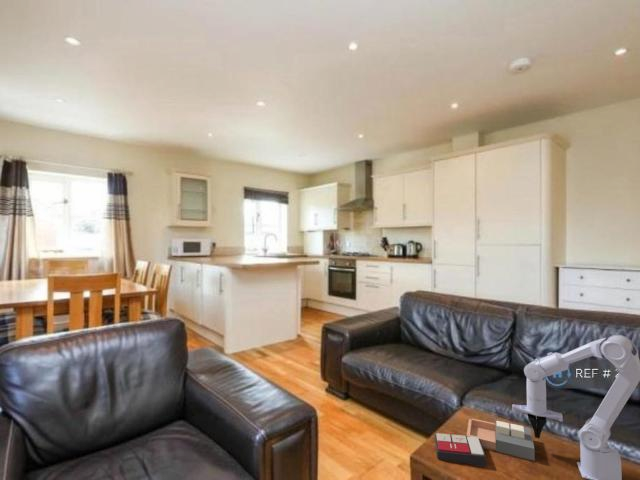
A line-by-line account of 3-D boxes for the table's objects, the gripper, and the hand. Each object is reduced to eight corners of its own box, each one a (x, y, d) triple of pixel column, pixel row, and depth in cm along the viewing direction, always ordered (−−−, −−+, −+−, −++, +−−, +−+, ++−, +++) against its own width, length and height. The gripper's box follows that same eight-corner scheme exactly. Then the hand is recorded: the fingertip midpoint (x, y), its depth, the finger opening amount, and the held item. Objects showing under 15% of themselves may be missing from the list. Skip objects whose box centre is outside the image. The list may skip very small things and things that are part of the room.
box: (495, 431, 127) (495, 423, 127) (495, 451, 114) (495, 442, 114) (469, 425, 131) (469, 417, 131) (466, 444, 119) (466, 435, 119)
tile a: (523, 433, 118) (523, 426, 118) (524, 439, 115) (524, 431, 115) (510, 430, 120) (510, 423, 120) (511, 436, 117) (510, 428, 117)
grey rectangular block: (530, 439, 121) (530, 428, 122) (534, 461, 109) (534, 448, 109) (495, 431, 127) (495, 420, 127) (496, 451, 114) (495, 439, 114)
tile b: (508, 430, 120) (508, 423, 120) (509, 435, 117) (509, 428, 117) (496, 427, 122) (496, 420, 122) (496, 432, 119) (496, 425, 119)
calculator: (434, 431, 121) (479, 435, 117) (435, 443, 121) (480, 447, 117) (436, 449, 110) (485, 454, 106) (437, 462, 110) (486, 467, 106)
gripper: (559, 396, 115) (560, 436, 115) (511, 388, 122) (512, 425, 122) (563, 405, 109) (564, 447, 109) (512, 396, 116) (513, 435, 115)
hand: (537, 436), depth 115 cm, fingers closed
